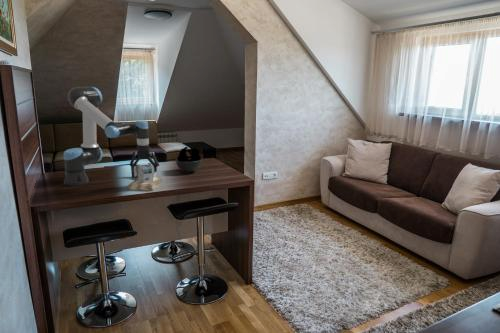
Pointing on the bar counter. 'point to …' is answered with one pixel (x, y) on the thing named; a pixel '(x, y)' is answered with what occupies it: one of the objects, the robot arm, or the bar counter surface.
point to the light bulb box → (145, 172)
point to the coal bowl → (188, 160)
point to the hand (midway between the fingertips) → (145, 176)
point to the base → (145, 184)
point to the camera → (133, 171)
